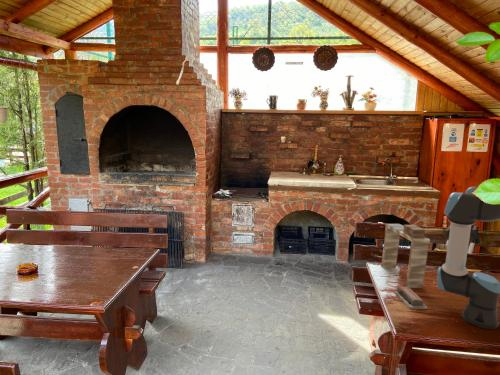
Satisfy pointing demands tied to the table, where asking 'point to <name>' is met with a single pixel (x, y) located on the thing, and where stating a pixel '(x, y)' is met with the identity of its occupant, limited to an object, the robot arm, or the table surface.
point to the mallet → (419, 231)
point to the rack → (416, 254)
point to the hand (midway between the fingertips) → (458, 249)
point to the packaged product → (410, 298)
